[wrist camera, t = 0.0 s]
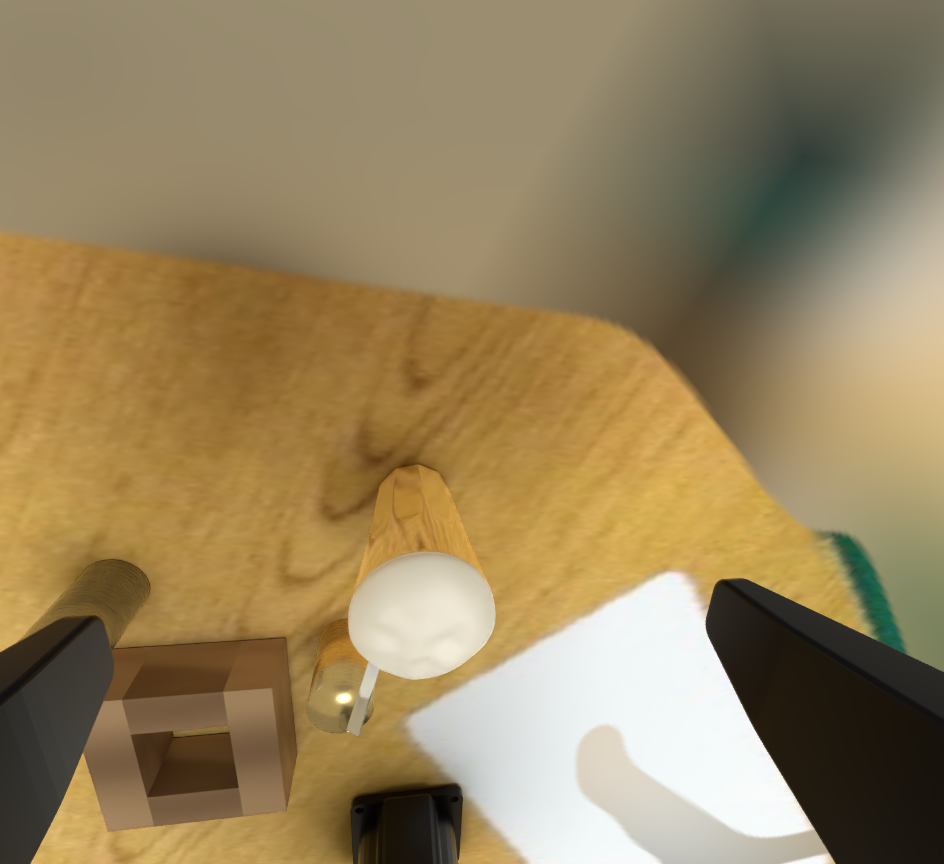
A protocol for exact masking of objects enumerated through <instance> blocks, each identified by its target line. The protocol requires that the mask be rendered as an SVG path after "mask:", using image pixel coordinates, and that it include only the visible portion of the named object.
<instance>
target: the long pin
mask: <svg viewBox="0 0 944 864" xmlns="http://www.w3.org/2000/svg"><path fill="white" fill-rule="evenodd" d="M149 593H150V584H149V581H148V579H147V577H146V576H145V574H144V573H143V572H142V571H141V570H140V569H138V568H137V567H135V566H134V565H132V564H130V563H127V562H124V561H119V560H103V561H99V562H96V563H94V564H92V565H90V566H89V567H88V568H87V569H86V570H85V571H84V572H83V573H82V574H81V575H80V576H79V577H78V578H77V579H76V580H75V581H74V582H73V583H72V585H71V586H70V587H69V588H68V589H67V590H66V591H65V592H64V593H63V594H62V595H61V596H60V597H59V598H58V600H57V601H56V602H55V603H54V604H53V605H52V606H51V607H50V608H49V609H48V610H47V611H46V612H45V613H44V614H43V616H42V617H41V618H40V619H39V620H38V621H37V622H36V623H35V624H34V625H33V626H32V627H31V628H30V629H29V631H28V632H27V633H26V634H25V635H24V636H23V637H22V638H21V639H20V640H19V641H21V640H23V639H24V638H26V637H28V636H30V635H31V634H33V633H35V632H37V631H38V630H40V629H42V628H44V627H45V626H47V625H49V624H51V623H52V622H54V621H56V620H58V619H60V618H62V617H66V616H76V615H97V616H99V617H101V618H102V620H103V621H104V624H105V627H106V631H107V635H108V639H109V643H110V647H111V650H112V649H113V648H114V646H115V645H116V643H117V642H118V640H119V639H120V638H121V636H122V635H123V633H124V632H125V630H126V629H127V627H128V626H129V624H130V623H131V622H132V620H133V619H134V617H135V616H136V614H137V613H138V611H139V610H140V608H141V607H142V606H143V604H144V603H145V601H146V600H147V598H148V596H149ZM19 641H18V642H19Z"/></svg>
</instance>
